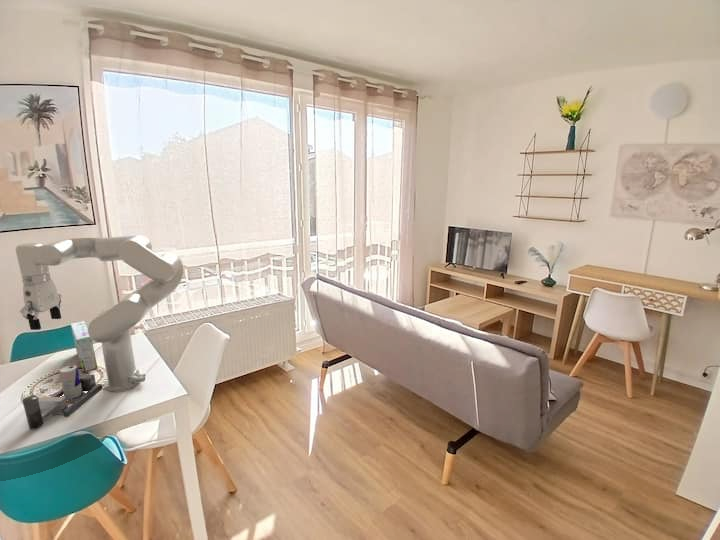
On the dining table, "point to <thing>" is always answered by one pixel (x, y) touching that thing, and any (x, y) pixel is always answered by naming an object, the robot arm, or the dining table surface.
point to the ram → (42, 409)
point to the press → (87, 385)
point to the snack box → (84, 346)
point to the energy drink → (71, 382)
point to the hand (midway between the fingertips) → (46, 323)
